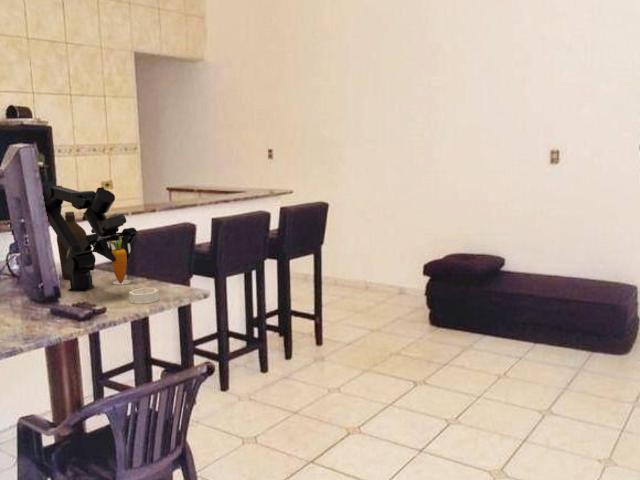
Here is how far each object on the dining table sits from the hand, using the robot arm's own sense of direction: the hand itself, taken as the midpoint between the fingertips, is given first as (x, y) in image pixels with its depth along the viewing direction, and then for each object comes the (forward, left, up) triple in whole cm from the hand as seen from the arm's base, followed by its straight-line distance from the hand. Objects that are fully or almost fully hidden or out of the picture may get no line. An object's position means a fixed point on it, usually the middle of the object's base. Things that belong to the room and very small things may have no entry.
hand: (121, 259), depth 199 cm
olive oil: (-34, +29, -14) cm, 47 cm away
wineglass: (-12, +22, -14) cm, 28 cm away
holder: (+7, 0, -13) cm, 15 cm away
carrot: (-1, +1, -8) cm, 8 cm away
